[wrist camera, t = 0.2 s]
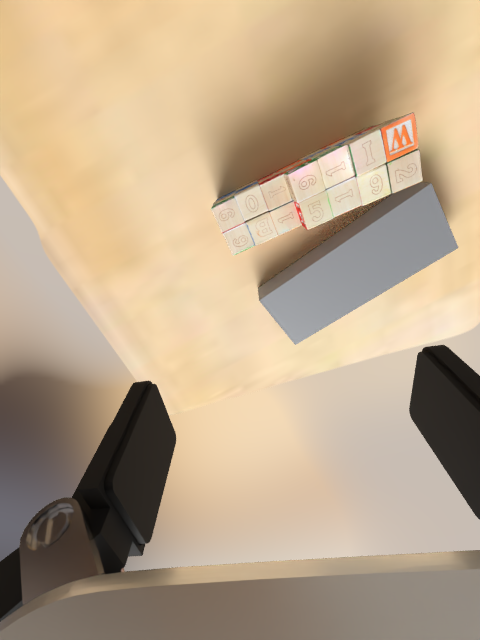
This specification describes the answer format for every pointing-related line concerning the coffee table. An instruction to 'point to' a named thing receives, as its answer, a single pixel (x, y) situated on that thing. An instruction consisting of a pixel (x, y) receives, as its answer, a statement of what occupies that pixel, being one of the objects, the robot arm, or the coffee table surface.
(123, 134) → the coffee table surface
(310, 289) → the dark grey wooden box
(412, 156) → the stack of blocks
